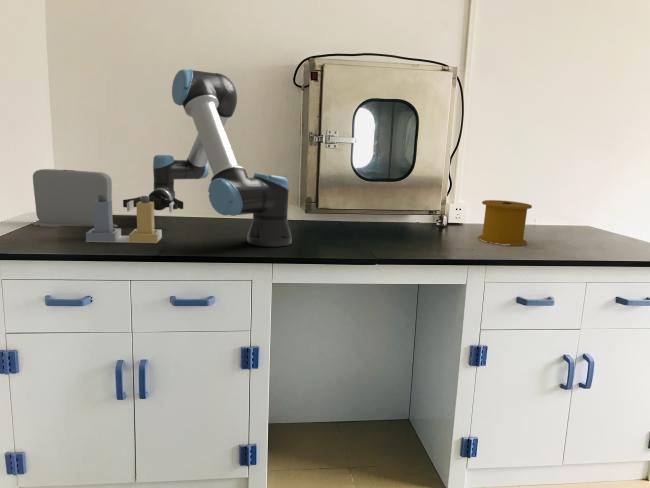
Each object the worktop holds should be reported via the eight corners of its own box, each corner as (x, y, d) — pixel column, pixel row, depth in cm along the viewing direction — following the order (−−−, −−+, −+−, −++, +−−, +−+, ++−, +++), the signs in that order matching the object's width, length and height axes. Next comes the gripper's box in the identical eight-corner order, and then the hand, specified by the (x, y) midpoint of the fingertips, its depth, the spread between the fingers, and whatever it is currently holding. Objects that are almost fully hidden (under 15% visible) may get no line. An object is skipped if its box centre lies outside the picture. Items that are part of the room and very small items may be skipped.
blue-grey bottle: (113, 237, 171) (111, 194, 168) (109, 240, 166) (107, 196, 163) (98, 236, 170) (96, 193, 167) (94, 239, 166) (92, 195, 163)
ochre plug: (154, 237, 173) (153, 195, 170) (152, 240, 168) (151, 197, 165) (140, 237, 172) (139, 195, 169) (137, 240, 168) (136, 197, 165)
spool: (515, 248, 191) (520, 207, 187) (469, 239, 202) (474, 201, 199) (534, 242, 204) (539, 204, 200) (490, 234, 215) (494, 198, 212)
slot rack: (162, 239, 176) (162, 229, 175) (157, 246, 166) (156, 235, 165) (94, 237, 173) (94, 227, 172) (85, 244, 163) (84, 233, 162)
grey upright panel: (122, 225, 195) (120, 171, 190) (109, 230, 185) (106, 174, 181) (42, 220, 197) (39, 166, 193) (25, 224, 188) (21, 168, 183)
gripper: (194, 210, 198) (187, 219, 178) (125, 208, 195) (110, 217, 174) (194, 190, 197) (187, 197, 176) (124, 187, 193) (109, 195, 173)
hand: (149, 207), depth 175 cm, fingers open, 13 cm apart
